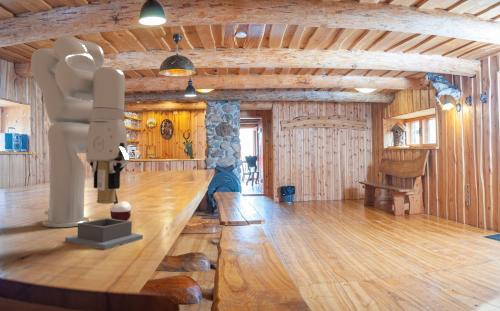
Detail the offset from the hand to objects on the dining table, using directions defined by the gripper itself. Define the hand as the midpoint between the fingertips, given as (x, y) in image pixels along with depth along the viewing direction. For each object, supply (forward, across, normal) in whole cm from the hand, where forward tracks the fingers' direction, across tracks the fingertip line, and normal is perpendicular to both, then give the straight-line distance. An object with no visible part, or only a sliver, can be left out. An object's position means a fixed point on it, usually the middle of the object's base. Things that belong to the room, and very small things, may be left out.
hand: (106, 187), depth 86 cm
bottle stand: (+14, 0, 0) cm, 14 cm away
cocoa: (+14, -16, +20) cm, 29 cm away
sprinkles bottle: (+4, 0, 0) cm, 4 cm away
